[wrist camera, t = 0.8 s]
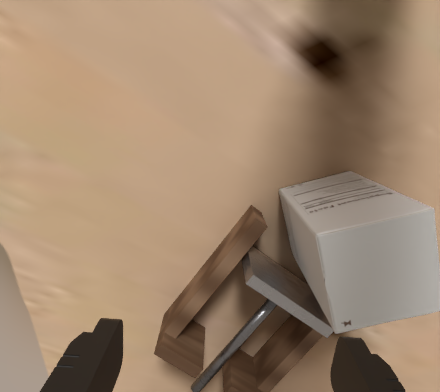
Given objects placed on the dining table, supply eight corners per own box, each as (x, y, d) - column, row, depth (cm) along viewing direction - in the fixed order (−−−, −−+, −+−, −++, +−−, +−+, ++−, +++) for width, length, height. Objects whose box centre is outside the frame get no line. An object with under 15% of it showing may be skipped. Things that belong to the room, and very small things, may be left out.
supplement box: (363, 239, 39) (448, 314, 25) (291, 255, 40) (333, 339, 25) (353, 168, 37) (440, 206, 23) (277, 187, 38) (314, 235, 23)
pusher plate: (246, 241, 39) (253, 274, 31) (312, 287, 40) (335, 330, 33) (164, 341, 42) (152, 393, 35) (228, 379, 44) (231, 437, 36)
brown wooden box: (251, 205, 38) (258, 225, 31) (345, 272, 41) (370, 305, 34) (164, 314, 42) (154, 354, 35) (254, 370, 44) (261, 416, 38)
